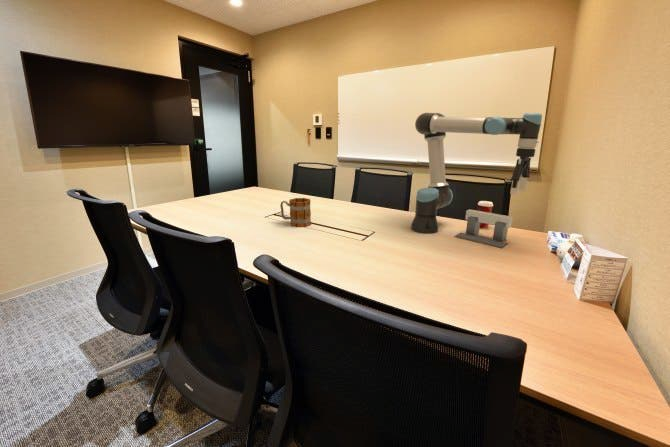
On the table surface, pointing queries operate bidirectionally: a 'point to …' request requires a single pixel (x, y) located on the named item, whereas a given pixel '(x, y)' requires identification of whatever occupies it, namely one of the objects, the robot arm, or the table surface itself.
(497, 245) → the gray base plate
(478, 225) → the post
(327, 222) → the table surface
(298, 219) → the mug
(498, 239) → the post
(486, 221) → the rail
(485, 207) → the coffee cup
